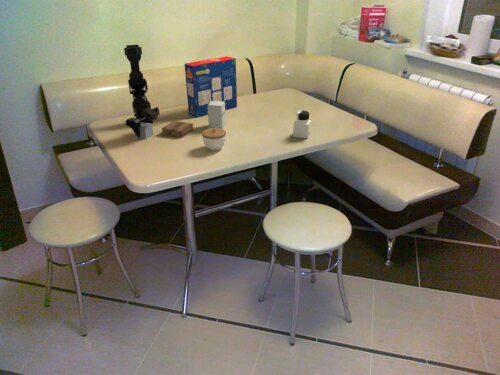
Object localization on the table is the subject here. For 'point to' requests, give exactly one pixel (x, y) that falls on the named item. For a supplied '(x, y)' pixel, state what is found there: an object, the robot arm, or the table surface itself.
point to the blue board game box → (210, 84)
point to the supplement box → (216, 114)
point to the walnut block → (177, 129)
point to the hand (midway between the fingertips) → (144, 134)
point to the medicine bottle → (302, 125)
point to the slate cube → (145, 130)
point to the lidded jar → (214, 138)
